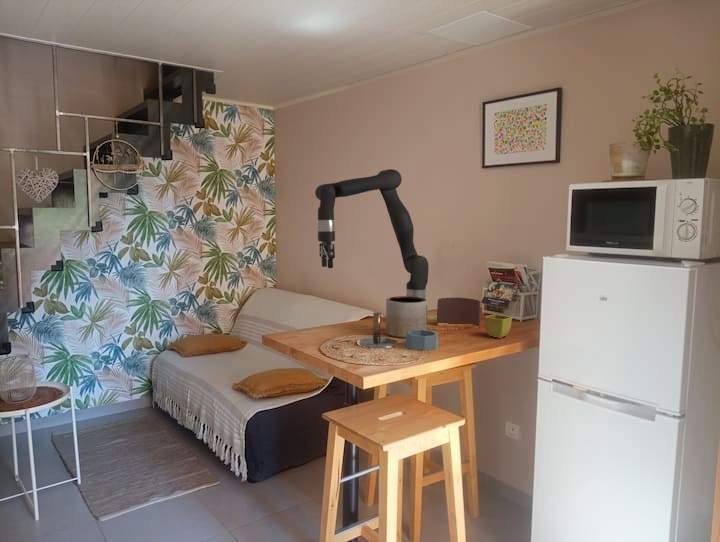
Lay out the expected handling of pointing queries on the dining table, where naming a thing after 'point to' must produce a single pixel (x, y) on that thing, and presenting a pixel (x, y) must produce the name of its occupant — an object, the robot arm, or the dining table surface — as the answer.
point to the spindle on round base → (377, 336)
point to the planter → (405, 315)
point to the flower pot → (498, 325)
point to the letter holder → (458, 311)
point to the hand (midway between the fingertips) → (327, 267)
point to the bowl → (422, 339)
